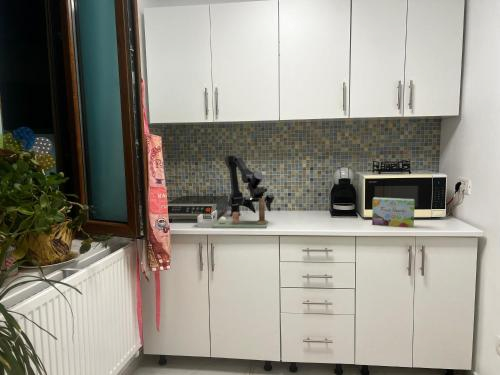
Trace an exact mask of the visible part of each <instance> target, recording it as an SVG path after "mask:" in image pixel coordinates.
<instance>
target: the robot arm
mask: <svg viewBox="0 0 500 375" xmlns="http://www.w3.org/2000/svg"><path fill="white" fill-rule="evenodd" d="M224 162H225V166H226V167H227V168H228V171H229V172H228V174H229V179H230V189H231V191H230V194H229V199H228V201H227V207H230V214H229V216H230V217H233V214H232V213H233V212H239V217H240V216H241V215H242V214H241V210H240V209H241V208H240V207H245V208H247V209H249V210H250V211H251V212H253V213H254V214H256V213H257V211H256V208H255V205H254V204H253V203H259V198H264V204H265V207H266V208H267V211H269V212H271V204H272V203H274V200H275V196H274V194H266V196H265V197H264V194H265V193H266V192H268V188H267V185H263V186H259V185H260V184H261V183H262V181H263V179H264V174H262V173H261V172H259V171H258V170H254V171H252V170H250V169H249V168H248V167H247V165H246V163H245V161H244V159H243V156H242V155H239V154H238V155H237V154H235V155H234V154H232V155H231V154H230V155H226V156H225V157H224ZM237 168H238V171H239V172H240V173H241V177H240V178H241V181H242V183H244V184H247V186H246V190H248V192H249V193H250V194H249V195H248V196H244V195H243V194H244V193H243V192H241V191H240V187H239V178H238V171H237Z"/></svg>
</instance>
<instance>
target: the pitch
mask: <svg viewBox="0 0 500 375" xmlns="http://www.w3.org/2000/svg"><path fill="white" fill-rule="evenodd" d="M214 214H215V218H214V219H213V215H214ZM196 218H197V219H196V220H197V228H212V229H267V228H268V226H269V225H268V224H269V221H268V220H267V223H266V224H257V223H238V224H233V223H232V221H233V220H226V222H225V223H224V224H222V223H220V221H219V220H218V209H217V210H215V211H213V212H212V213H211V218H212V219H203V214H201V213H200V214H199V215H198V216H197V217H196ZM213 223H214V224H213Z"/></svg>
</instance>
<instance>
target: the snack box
mask: <svg viewBox="0 0 500 375" xmlns="http://www.w3.org/2000/svg"><path fill="white" fill-rule="evenodd" d="M371 211H372V217H371V218H372V219H371V225H373V226H384V227H385V226H387V227H397V228H414V227H415V223H414V222H415V198H398V197H397V198H396V197H375V196H374V197H373V198H372V210H371Z"/></svg>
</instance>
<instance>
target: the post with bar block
mask: <svg viewBox="0 0 500 375" xmlns="http://www.w3.org/2000/svg"><path fill="white" fill-rule="evenodd" d="M264 198H265V197H262V198H259V202H258V219H257V220H240V216H239V212H233V213H232V214H233V216H232V220H231V221H232V223H233V224H238V223H257V224H266V223H267V221H268V220H267V219H266V218H265V217H266V216H265V214H266V213H265V212H266V211H265V210H266V209H265V207H266V203H265V201H264Z"/></svg>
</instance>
